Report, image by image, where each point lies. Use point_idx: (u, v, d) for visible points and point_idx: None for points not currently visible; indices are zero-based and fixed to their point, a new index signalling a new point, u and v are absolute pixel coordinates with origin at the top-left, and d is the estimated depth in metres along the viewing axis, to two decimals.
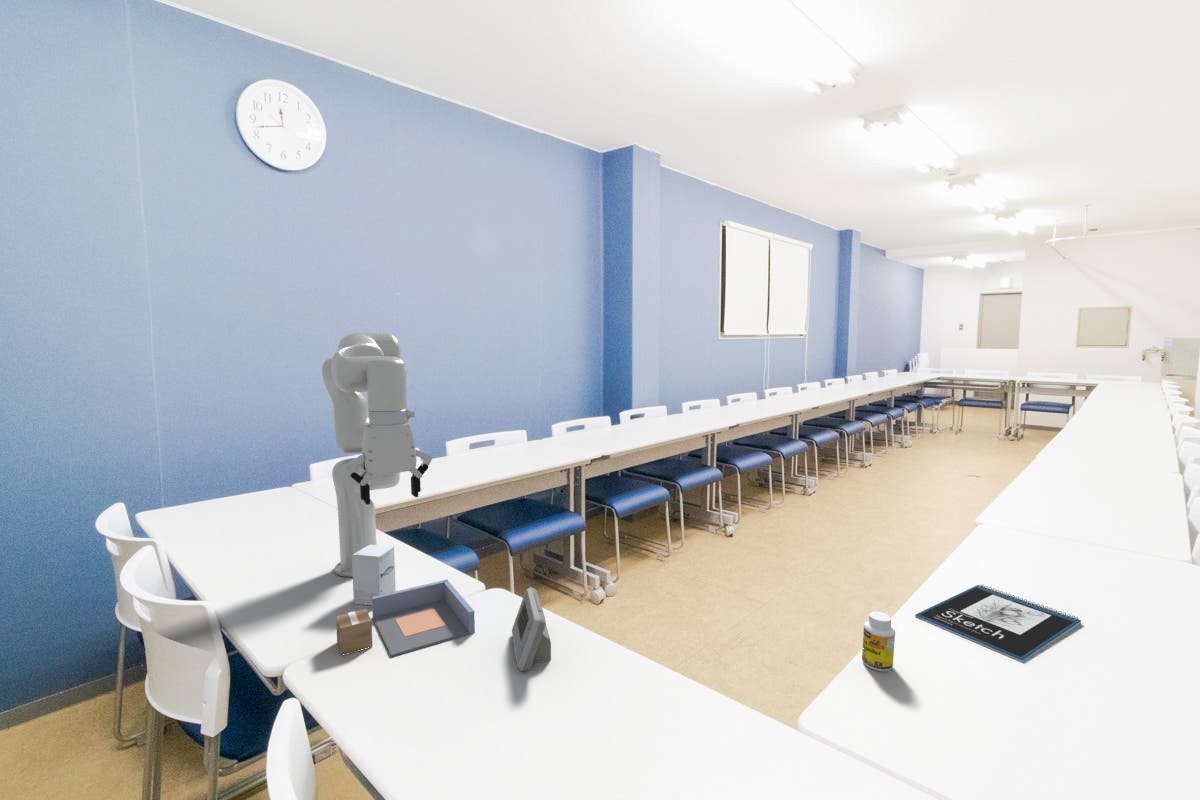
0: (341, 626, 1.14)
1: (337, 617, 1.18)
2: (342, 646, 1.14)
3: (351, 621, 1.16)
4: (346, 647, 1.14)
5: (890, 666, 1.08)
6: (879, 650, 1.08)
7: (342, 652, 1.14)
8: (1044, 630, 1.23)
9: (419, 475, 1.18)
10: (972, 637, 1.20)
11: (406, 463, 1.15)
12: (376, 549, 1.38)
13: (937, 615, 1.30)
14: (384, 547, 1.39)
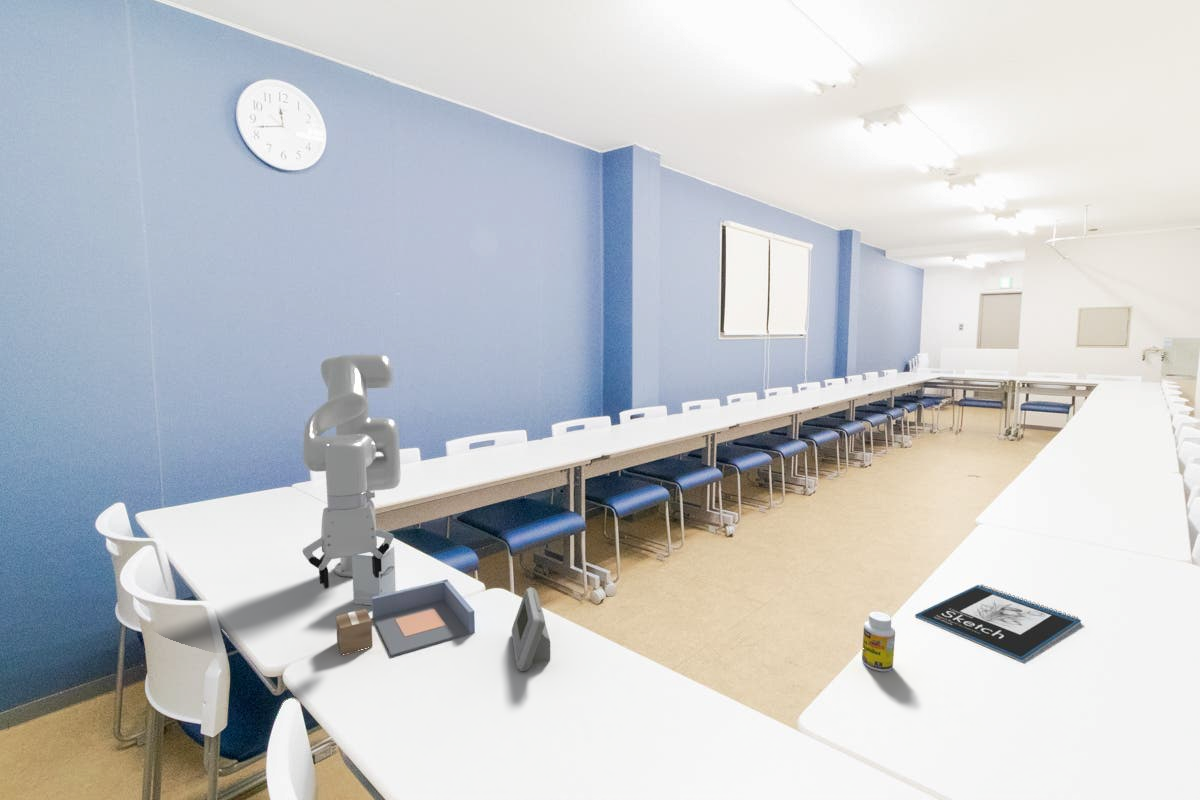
0: (341, 626, 1.14)
1: (337, 617, 1.18)
2: (342, 646, 1.14)
3: (351, 621, 1.16)
4: (346, 647, 1.14)
5: (890, 666, 1.08)
6: (879, 650, 1.08)
7: (342, 652, 1.14)
8: (1044, 630, 1.23)
9: (380, 555, 1.17)
10: (972, 637, 1.20)
11: (366, 545, 1.15)
12: None
13: (937, 615, 1.30)
14: None
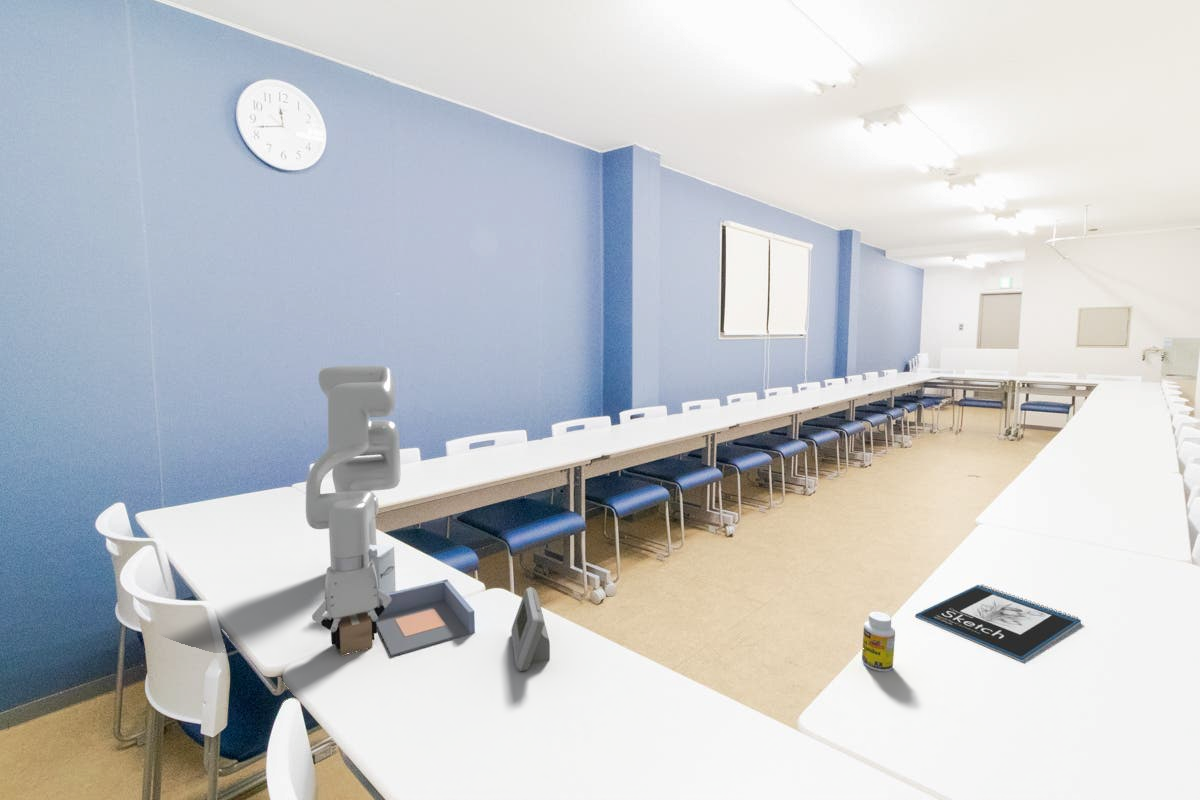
0: (341, 626, 1.14)
1: None
2: (342, 646, 1.14)
3: (351, 621, 1.16)
4: (346, 647, 1.14)
5: (890, 666, 1.08)
6: (879, 650, 1.08)
7: (342, 652, 1.14)
8: (1044, 629, 1.23)
9: (375, 618, 1.18)
10: (972, 637, 1.20)
11: (369, 603, 1.16)
12: (376, 549, 1.38)
13: (937, 615, 1.30)
14: (384, 547, 1.39)
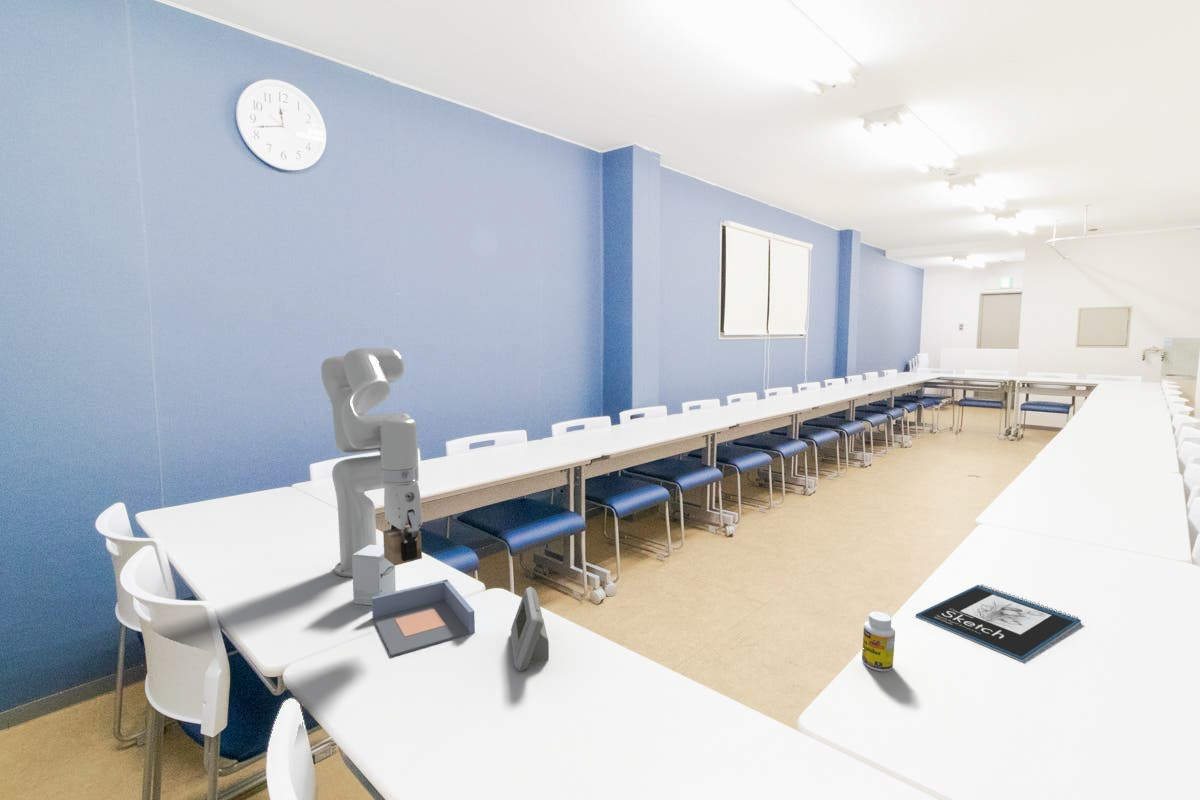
0: (387, 530, 1.22)
1: (407, 526, 1.25)
2: (384, 548, 1.22)
3: (395, 531, 1.21)
4: (385, 551, 1.22)
5: (890, 666, 1.08)
6: (879, 650, 1.08)
7: (384, 554, 1.23)
8: (1044, 629, 1.23)
9: (404, 540, 1.18)
10: (972, 637, 1.20)
11: (396, 522, 1.18)
12: (376, 549, 1.38)
13: (937, 615, 1.30)
14: None
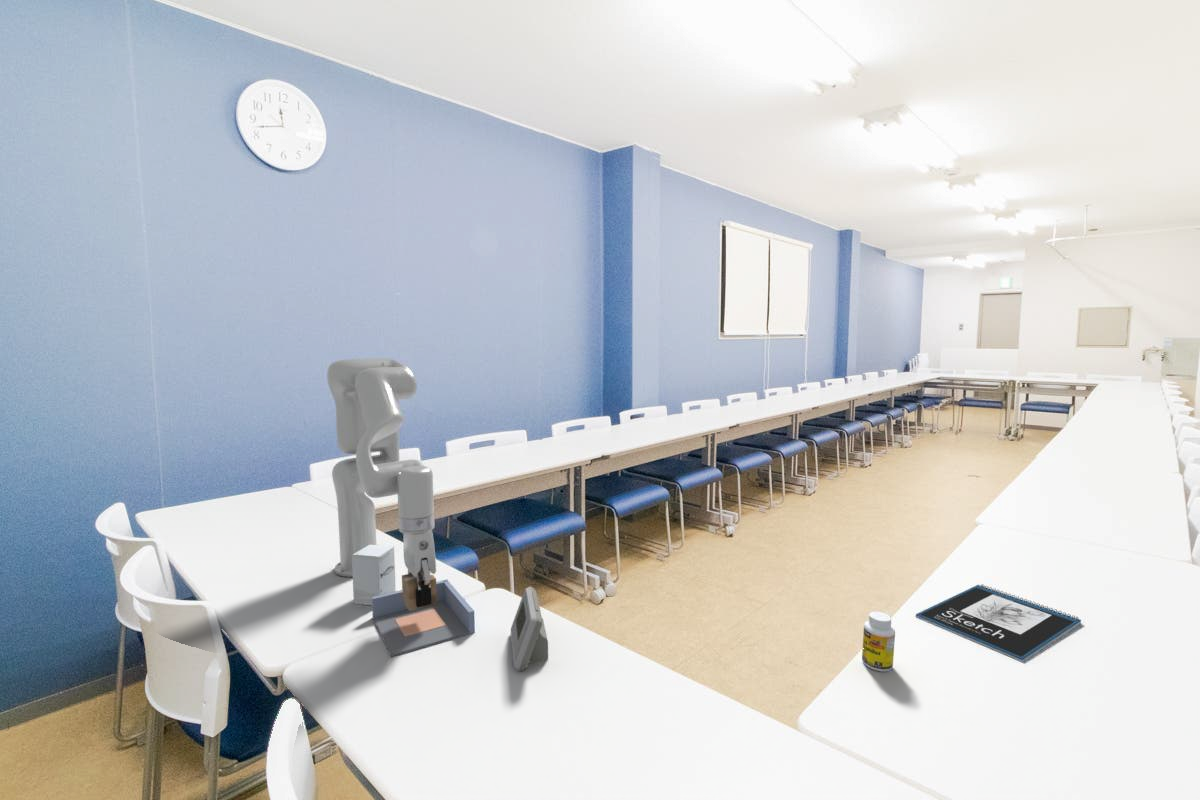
0: (405, 575, 1.26)
1: None
2: (402, 592, 1.26)
3: (412, 577, 1.25)
4: (403, 595, 1.25)
5: (890, 666, 1.08)
6: (879, 650, 1.08)
7: None
8: (1044, 629, 1.23)
9: (418, 587, 1.21)
10: (972, 637, 1.20)
11: (411, 569, 1.21)
12: (376, 549, 1.38)
13: (937, 615, 1.30)
14: (384, 547, 1.39)
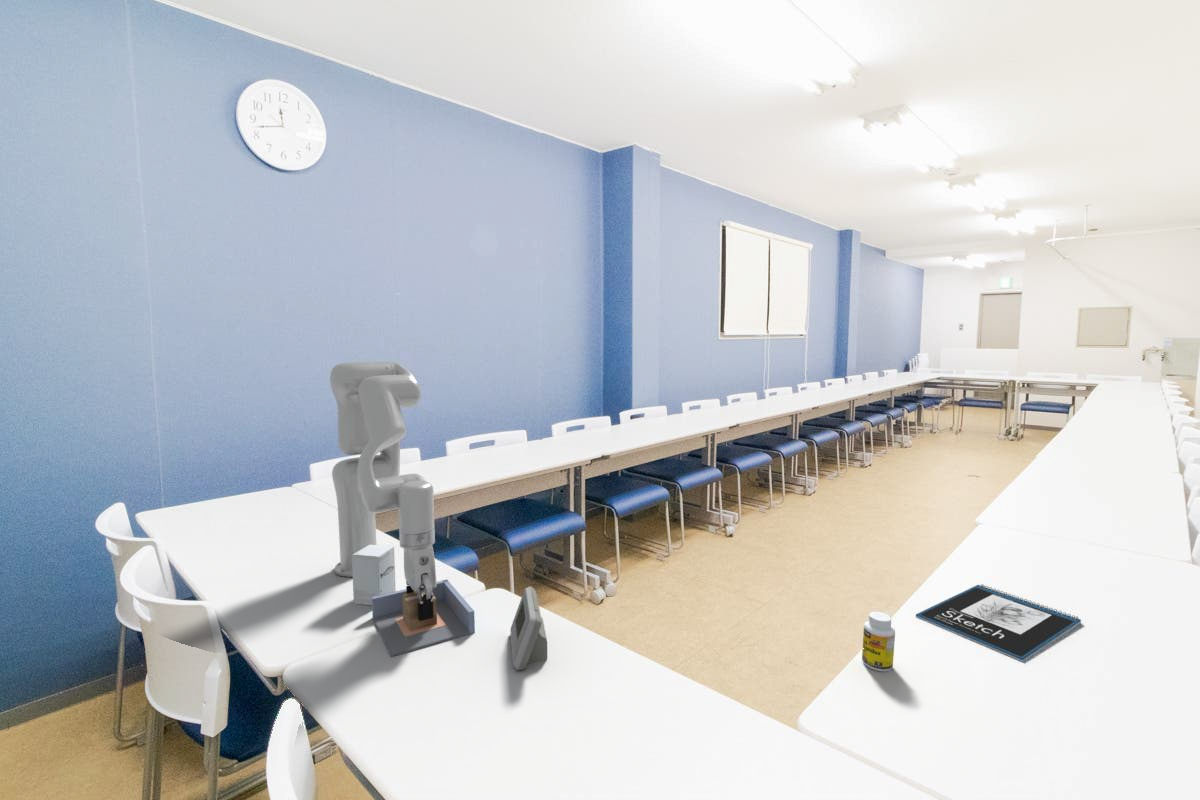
0: (406, 594, 1.26)
1: None
2: (403, 611, 1.27)
3: (412, 596, 1.25)
4: (403, 614, 1.26)
5: (890, 666, 1.08)
6: (879, 650, 1.08)
7: (403, 617, 1.27)
8: (1044, 629, 1.23)
9: (420, 601, 1.20)
10: (973, 637, 1.20)
11: (412, 584, 1.21)
12: (376, 549, 1.38)
13: (937, 615, 1.30)
14: (384, 547, 1.39)
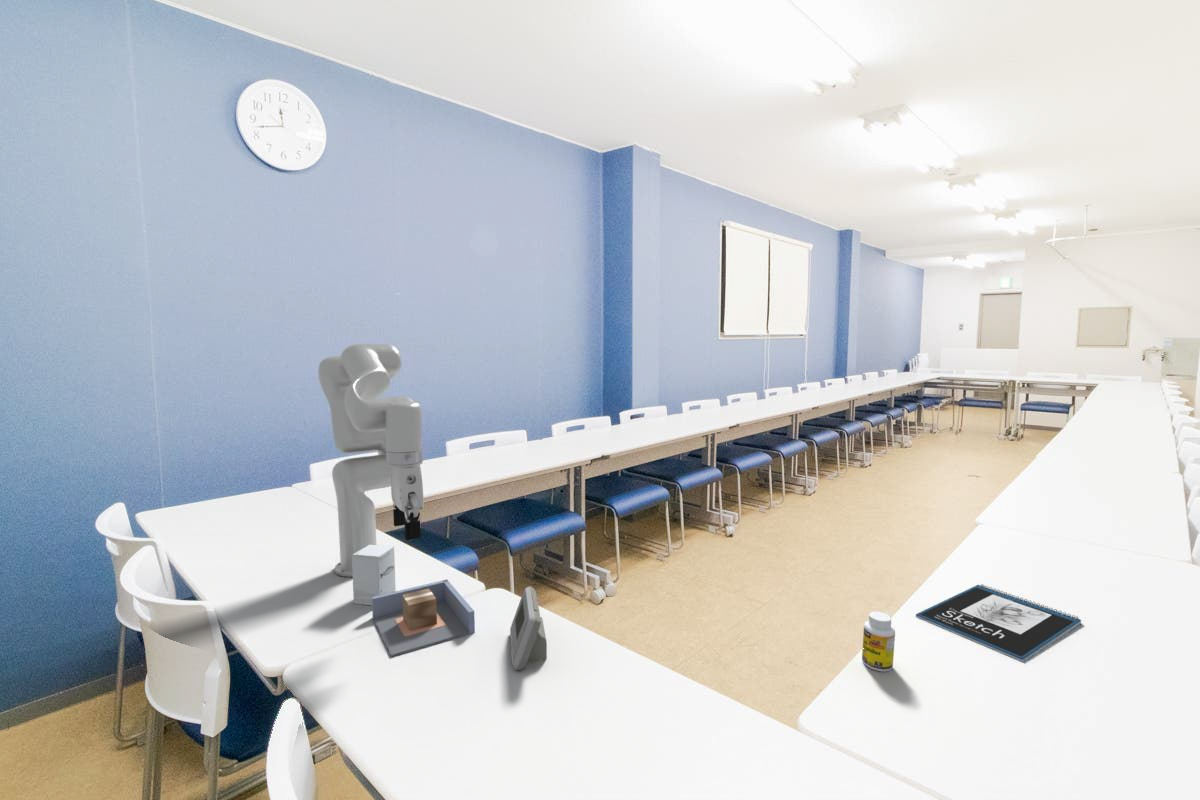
0: (406, 594, 1.26)
1: (425, 589, 1.29)
2: (403, 611, 1.27)
3: (412, 596, 1.25)
4: (403, 614, 1.26)
5: (890, 666, 1.08)
6: (879, 650, 1.08)
7: (403, 617, 1.27)
8: (1044, 629, 1.23)
9: (407, 520, 1.19)
10: (973, 637, 1.20)
11: (399, 503, 1.20)
12: (376, 549, 1.38)
13: (937, 615, 1.30)
14: (384, 547, 1.39)
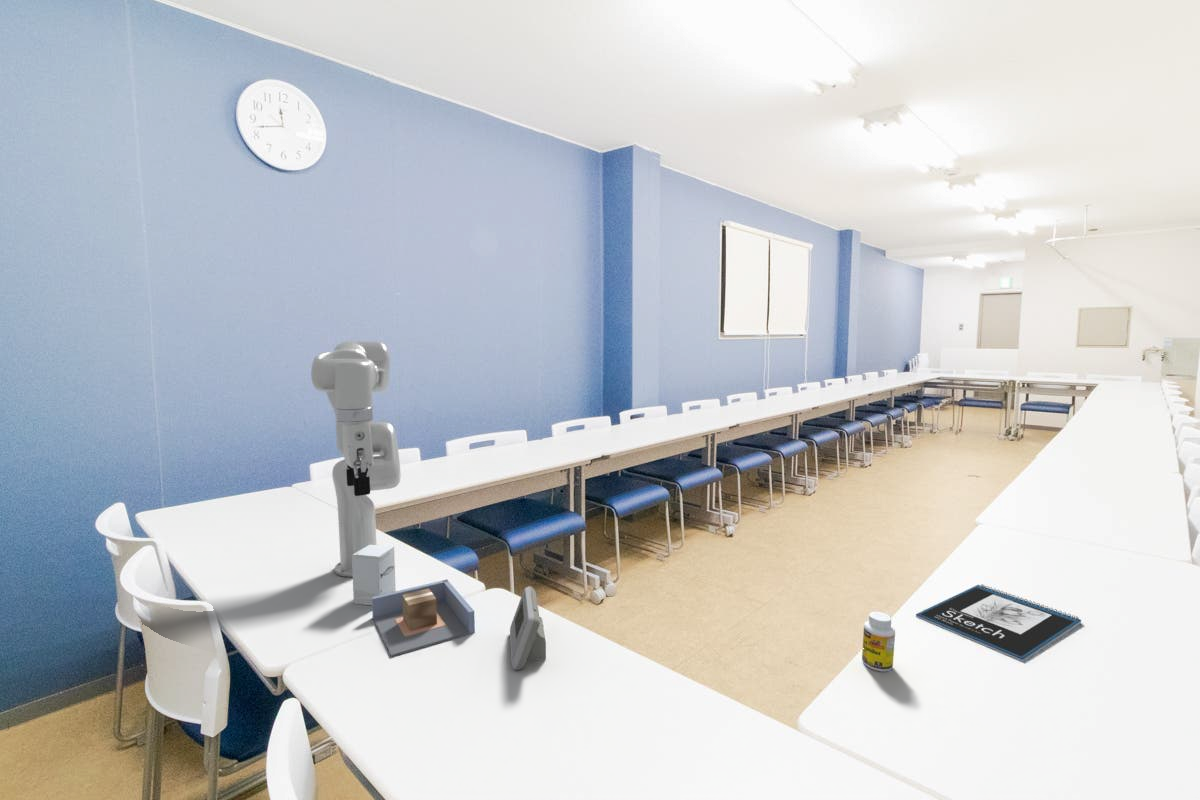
0: (406, 594, 1.26)
1: (425, 589, 1.29)
2: (403, 611, 1.27)
3: (412, 596, 1.25)
4: (403, 614, 1.26)
5: (890, 666, 1.08)
6: (879, 650, 1.08)
7: (403, 617, 1.27)
8: (1044, 629, 1.23)
9: (356, 475, 1.21)
10: (973, 637, 1.20)
11: (348, 460, 1.22)
12: (376, 549, 1.38)
13: (937, 615, 1.30)
14: (384, 547, 1.39)
